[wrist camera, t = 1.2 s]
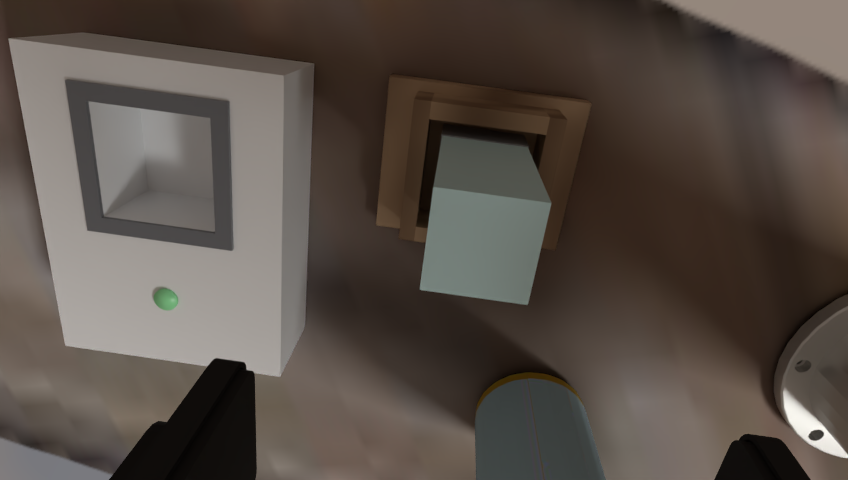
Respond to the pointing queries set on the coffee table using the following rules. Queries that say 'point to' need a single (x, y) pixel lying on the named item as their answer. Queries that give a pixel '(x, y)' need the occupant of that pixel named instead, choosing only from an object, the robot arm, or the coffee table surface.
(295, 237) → the panel
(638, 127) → the coffee table surface
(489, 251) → the plug
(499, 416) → the bottle
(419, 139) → the square wooden tray
